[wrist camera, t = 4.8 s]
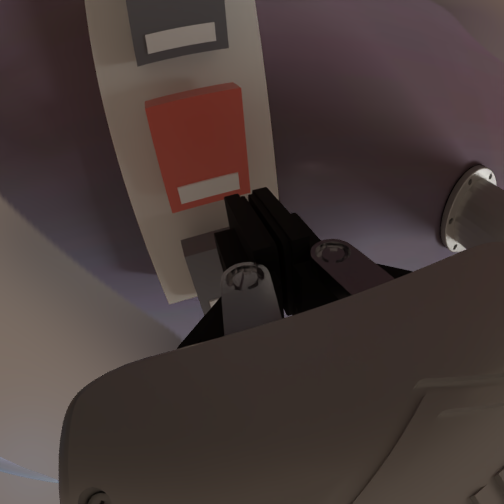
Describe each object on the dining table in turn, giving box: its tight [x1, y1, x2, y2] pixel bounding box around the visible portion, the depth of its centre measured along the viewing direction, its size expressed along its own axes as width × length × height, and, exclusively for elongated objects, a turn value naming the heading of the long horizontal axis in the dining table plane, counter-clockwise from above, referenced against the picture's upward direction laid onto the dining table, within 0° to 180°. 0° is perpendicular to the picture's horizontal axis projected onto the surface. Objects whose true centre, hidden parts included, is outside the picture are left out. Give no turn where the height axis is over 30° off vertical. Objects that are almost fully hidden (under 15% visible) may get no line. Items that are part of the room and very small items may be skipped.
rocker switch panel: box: [85, 0, 279, 304], centre depth 17 cm, size 9×22×4 cm, turn 8°
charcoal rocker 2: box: [181, 227, 230, 315], centre depth 19 cm, size 4×6×2 cm
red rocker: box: [145, 82, 251, 213], centre depth 15 cm, size 4×6×2 cm
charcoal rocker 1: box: [126, 0, 229, 67], centre depth 10 cm, size 4×6×2 cm
